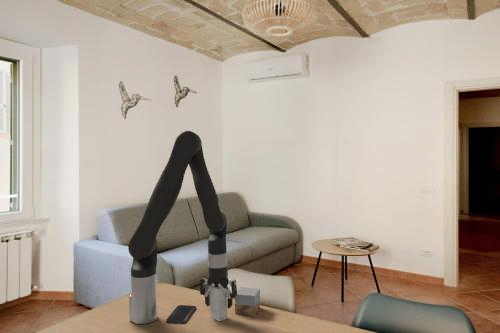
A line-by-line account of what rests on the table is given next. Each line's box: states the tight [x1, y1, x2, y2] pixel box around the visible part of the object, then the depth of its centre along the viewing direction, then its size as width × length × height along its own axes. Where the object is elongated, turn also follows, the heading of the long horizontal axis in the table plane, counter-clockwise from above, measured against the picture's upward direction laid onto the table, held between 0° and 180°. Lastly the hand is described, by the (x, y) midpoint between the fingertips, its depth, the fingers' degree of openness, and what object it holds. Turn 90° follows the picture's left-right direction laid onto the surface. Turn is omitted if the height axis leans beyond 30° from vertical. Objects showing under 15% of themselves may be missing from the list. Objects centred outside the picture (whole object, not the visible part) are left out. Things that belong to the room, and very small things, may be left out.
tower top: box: [234, 286, 261, 306], centre depth 145 cm, size 8×8×4 cm
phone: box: [165, 304, 197, 325], centre depth 142 cm, size 8×1×15 cm
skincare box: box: [208, 285, 228, 322], centre depth 139 cm, size 6×4×12 cm
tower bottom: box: [234, 298, 261, 317], centre depth 146 cm, size 8×8×4 cm
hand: (218, 306), depth 139 cm, fingers open, 8 cm apart
